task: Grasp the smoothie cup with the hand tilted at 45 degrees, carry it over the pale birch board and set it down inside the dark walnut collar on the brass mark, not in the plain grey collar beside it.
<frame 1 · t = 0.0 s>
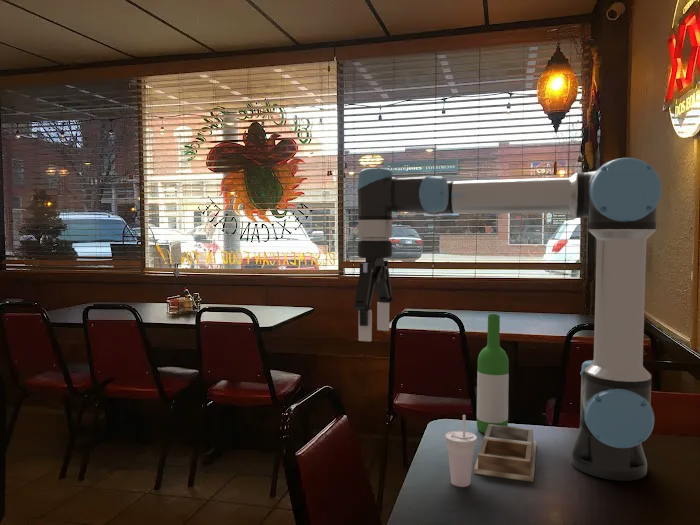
hand: (374, 335, 127), 28 cm above the table, tool pointing down, fingers open, 13 cm apart
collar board: (507, 458, 129), on the table
wine bottle: (492, 431, 146), on the table
smoothie: (460, 483, 116), on the table
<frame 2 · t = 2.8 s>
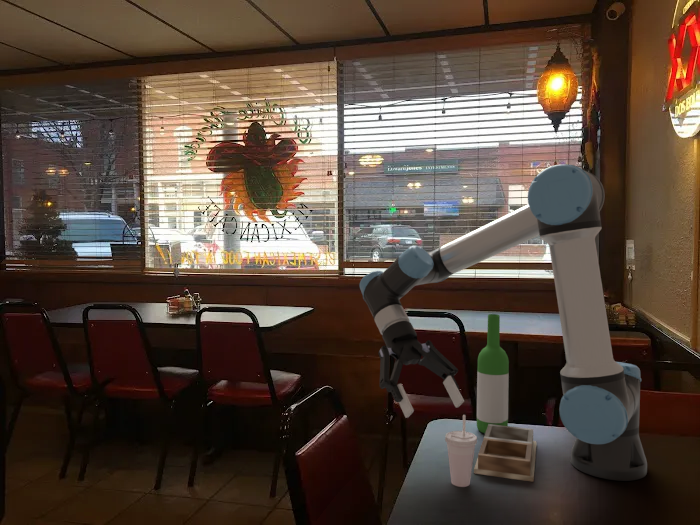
hand: (435, 409, 122), 13 cm above the table, tool tilted 45°, fingers open, 13 cm apart
nothing on the table moved.
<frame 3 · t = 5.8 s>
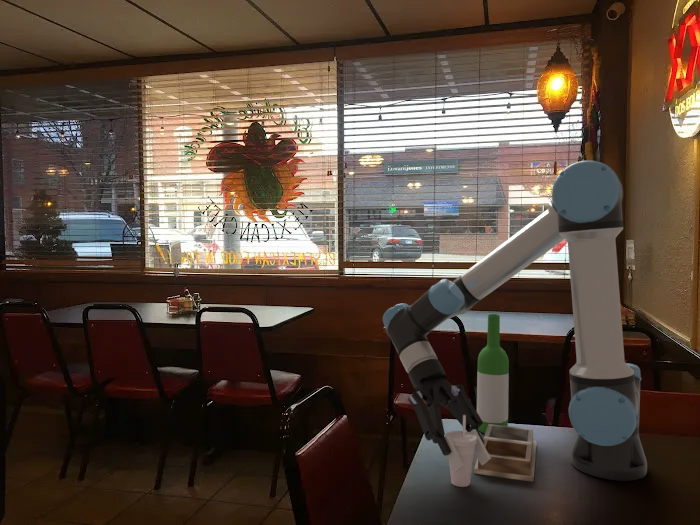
hand: (472, 465, 113), 5 cm above the table, tool tilted 45°, fingers closed on smoothie, 6 cm apart
smoothie: (460, 483, 116), on the table, touching gripper
everything else where it was.
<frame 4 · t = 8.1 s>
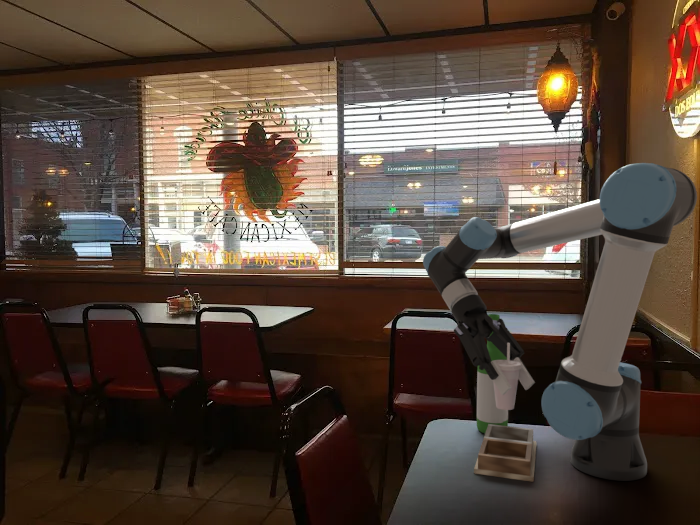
hand: (518, 388, 119), 18 cm above the table, tool tilted 45°, fingers closed on smoothie, 6 cm apart
smoothie: (505, 408, 123), point 13 cm above the table, touching gripper
everything else where it was.
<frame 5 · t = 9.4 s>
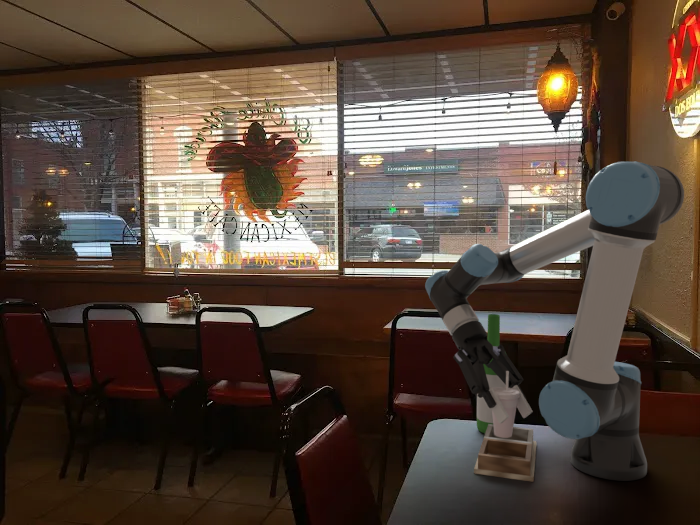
hand: (516, 417, 121), 12 cm above the table, tool tilted 45°, fingers closed on smoothie, 6 cm apart
smoothie: (502, 435, 124), point 7 cm above the table, touching gripper
everything else where it was.
when the fingers open (8 cm above the table, at t = 10.5 s): smoothie drops 2 cm, resting on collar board.
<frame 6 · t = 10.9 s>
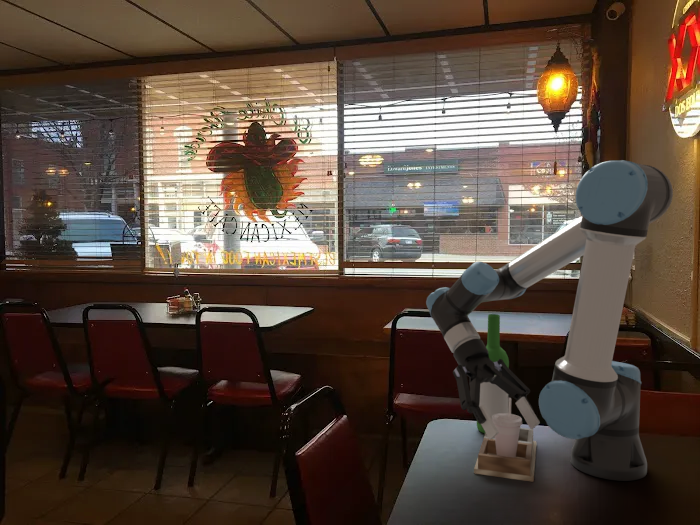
hand: (515, 431, 121), 9 cm above the table, tool tilted 45°, fingers open, 11 cm apart
smoothie: (505, 462, 124), point 1 cm above the table, touching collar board
everything else where it was.
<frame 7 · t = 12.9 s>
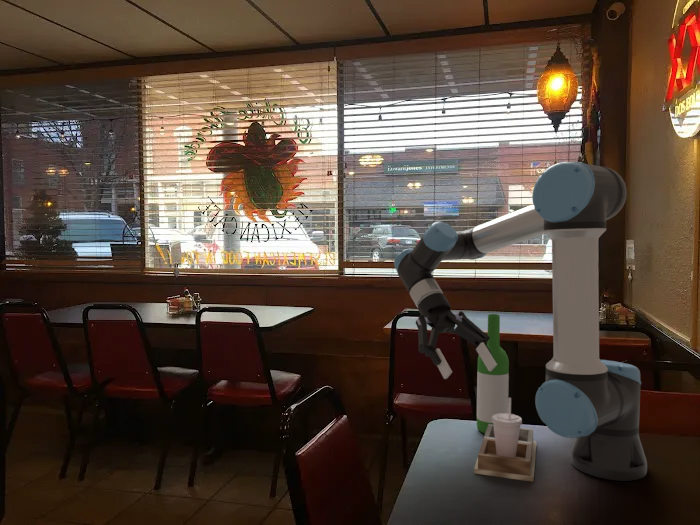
hand: (471, 372, 131), 19 cm above the table, tool tilted 45°, fingers open, 13 cm apart
nothing on the table moved.
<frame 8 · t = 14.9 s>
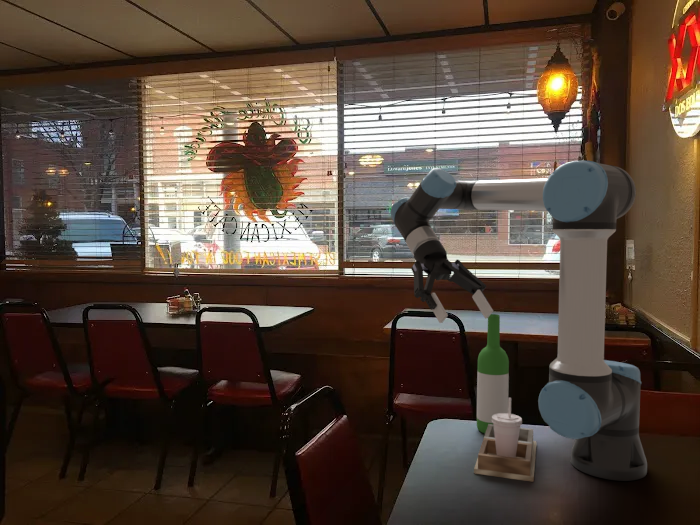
hand: (467, 317, 129), 32 cm above the table, tool tilted 45°, fingers open, 13 cm apart
nothing on the table moved.
at the end: smoothie 0.3 cm from the target spot on the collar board, point 1.0 cm above the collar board's base; smoothie tilted 0°; the gripper is holding nothing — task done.
